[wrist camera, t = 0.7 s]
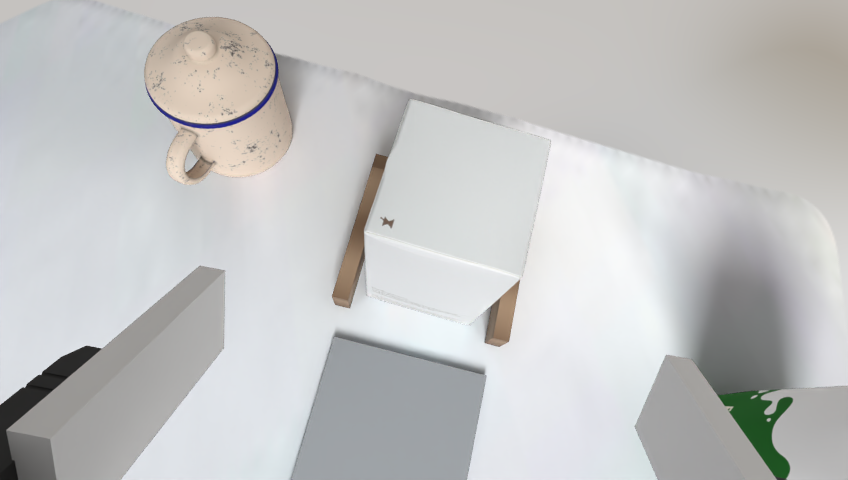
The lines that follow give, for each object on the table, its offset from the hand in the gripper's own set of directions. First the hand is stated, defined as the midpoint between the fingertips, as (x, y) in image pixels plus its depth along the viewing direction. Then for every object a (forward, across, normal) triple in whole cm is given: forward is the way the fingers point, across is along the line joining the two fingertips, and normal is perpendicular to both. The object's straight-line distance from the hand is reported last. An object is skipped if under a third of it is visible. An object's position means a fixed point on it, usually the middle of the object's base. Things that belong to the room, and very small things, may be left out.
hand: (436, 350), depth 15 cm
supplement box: (+25, 0, -9) cm, 27 cm away
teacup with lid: (+29, -19, -3) cm, 35 cm away
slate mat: (+16, -1, -19) cm, 24 cm away
